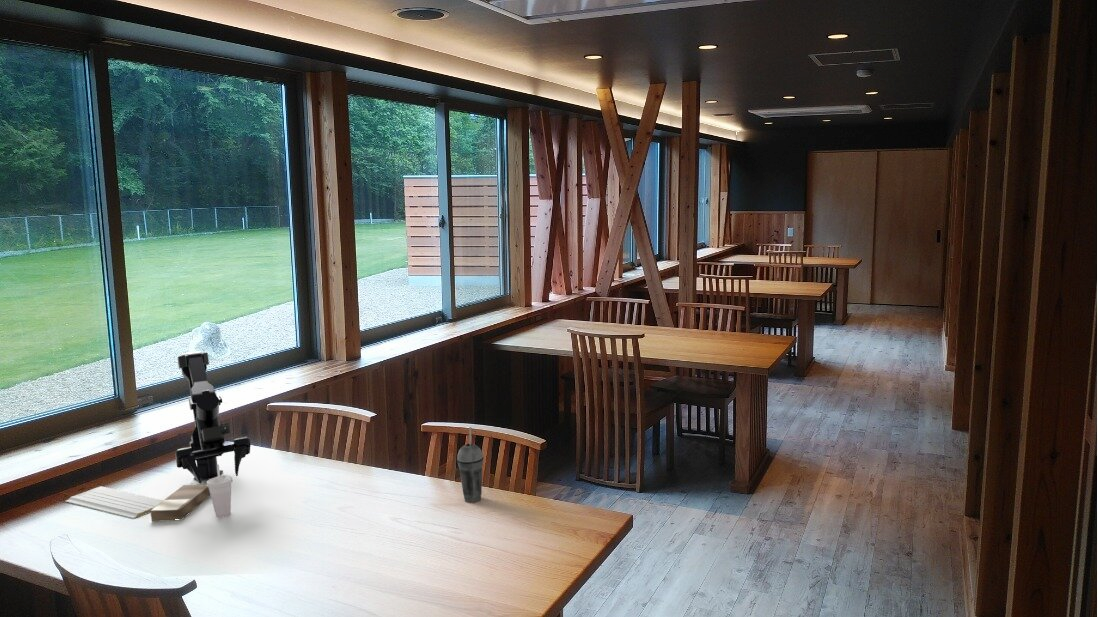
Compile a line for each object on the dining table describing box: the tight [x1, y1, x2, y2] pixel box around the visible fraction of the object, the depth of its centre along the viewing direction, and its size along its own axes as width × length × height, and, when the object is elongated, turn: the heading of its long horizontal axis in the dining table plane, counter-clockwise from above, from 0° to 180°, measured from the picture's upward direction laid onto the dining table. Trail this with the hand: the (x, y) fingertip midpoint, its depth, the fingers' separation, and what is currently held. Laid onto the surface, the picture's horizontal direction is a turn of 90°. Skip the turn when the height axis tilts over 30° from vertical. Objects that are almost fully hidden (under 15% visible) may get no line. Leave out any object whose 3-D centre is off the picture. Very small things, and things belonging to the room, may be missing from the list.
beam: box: [149, 483, 211, 522], centre depth 215 cm, size 18×8×3 cm, turn 179°
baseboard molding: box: [60, 483, 164, 519], centre depth 220 cm, size 31×3×12 cm
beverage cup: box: [456, 426, 485, 504], centre depth 209 cm, size 7×7×20 cm
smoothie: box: [206, 464, 233, 518], centre depth 208 cm, size 6×6×14 cm
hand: (218, 479), depth 209 cm, fingers open, 9 cm apart
